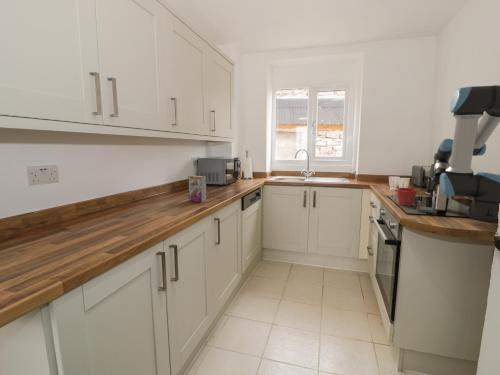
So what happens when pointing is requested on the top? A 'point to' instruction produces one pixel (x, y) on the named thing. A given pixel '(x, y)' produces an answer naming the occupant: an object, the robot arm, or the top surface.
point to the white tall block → (440, 200)
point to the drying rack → (426, 208)
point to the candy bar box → (197, 188)
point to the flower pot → (406, 196)
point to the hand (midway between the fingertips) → (441, 202)
